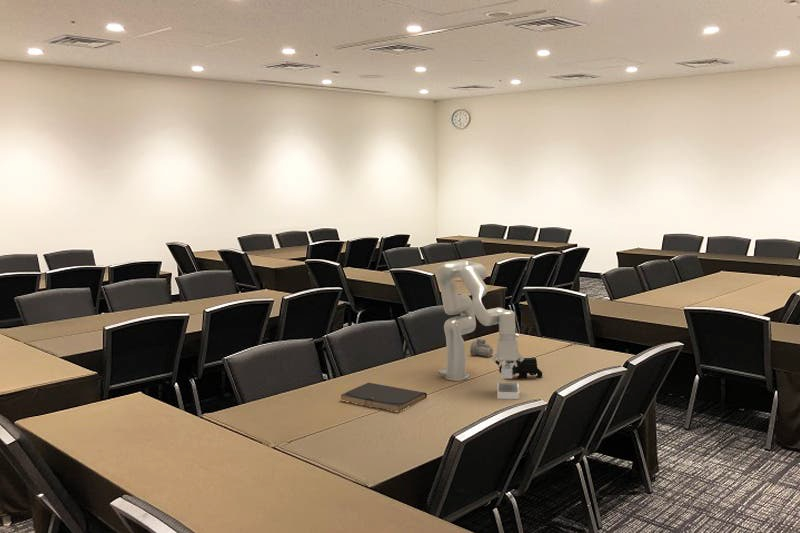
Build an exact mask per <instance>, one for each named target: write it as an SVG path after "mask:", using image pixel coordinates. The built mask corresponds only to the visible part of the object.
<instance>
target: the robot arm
mask: <svg viewBox="0 0 800 533" xmlns="http://www.w3.org/2000/svg"><path fill="white" fill-rule="evenodd" d="M487 276H488V272H487V269H486V267H485V266H484V264H482V263H480V262H474V261H469V260H457V261H451V262H446V263H442V264H441V265H440V266H439V267H438V269H437V270H436V280H437V283H438V286H439V289H440V293H441V300H442V305H443V310H444V312H445V314H447V315H449V316H454V315H458V314H460V316H454V317H450V318H448V319H447V320H445V322H444V325H443V330H444V335H445V341H446V344H445V345H446V368H444V369H438V374H440V375H443V377H444V379H445V380H447V381H451V382H461V381H466V380H468V379H469V378H470V375H469V373H466V368H467V367H466V342H465V340H464V338H463V335H467V334H470V333H473V332H474V331H475V330H476V327H477V321H476V319H477V320H478V322H479V323H480V324H482V325H483V326H485V327H490V326H493V325H498V334H499V338H497V341H496V353H495V354H494V355H492V356H491V360H492V361H493V362H494V363H495V364H496V365H498V368H499V370H498V371H499V372H498V373H499V374H501V368H502V366H503V362H506V361H513V362H514V375H513V376H516V374H515V373H517V366H518V365H519V364H520V363H521V362H522V361H523V360H524V358H525V357H524V356H523V355H522V354H521V353H520V352H519V343H518V339H517V338H519V334H518V333H516V313H515V311H514V310H511V309H505V308H503V307H495V308H490V309H486V308H485V306H484V304H483V301H482V298H483V297H484V296H485V295H486V294H487V293H488V286H487V285H486V283H485V282H484V280H485V279H486V278H487ZM455 279H461V281H462V283H463V284H464V285H465V287H466V289H467V290H468V292H469V294H470V295H471V297H472V299H471V297H470V295H468V294H465V293H461V294H459V292H458V287H457V284H456V283H455V282H454V280H455ZM518 358H520V359H519V360H518ZM517 360H518V361H517ZM516 361H517V362H516Z"/></svg>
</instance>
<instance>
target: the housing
mask: <svg viewBox="0 0 800 533" xmlns="http://www.w3.org/2000/svg"><path fill="white" fill-rule="evenodd" d="M505 362H506V361H505ZM505 362H504V363H502V368H501V373H500V375H501V376H500V377H501V379H513V377H514V376H515V375H514V363H511V361H507V362H506V363H505Z"/></svg>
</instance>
